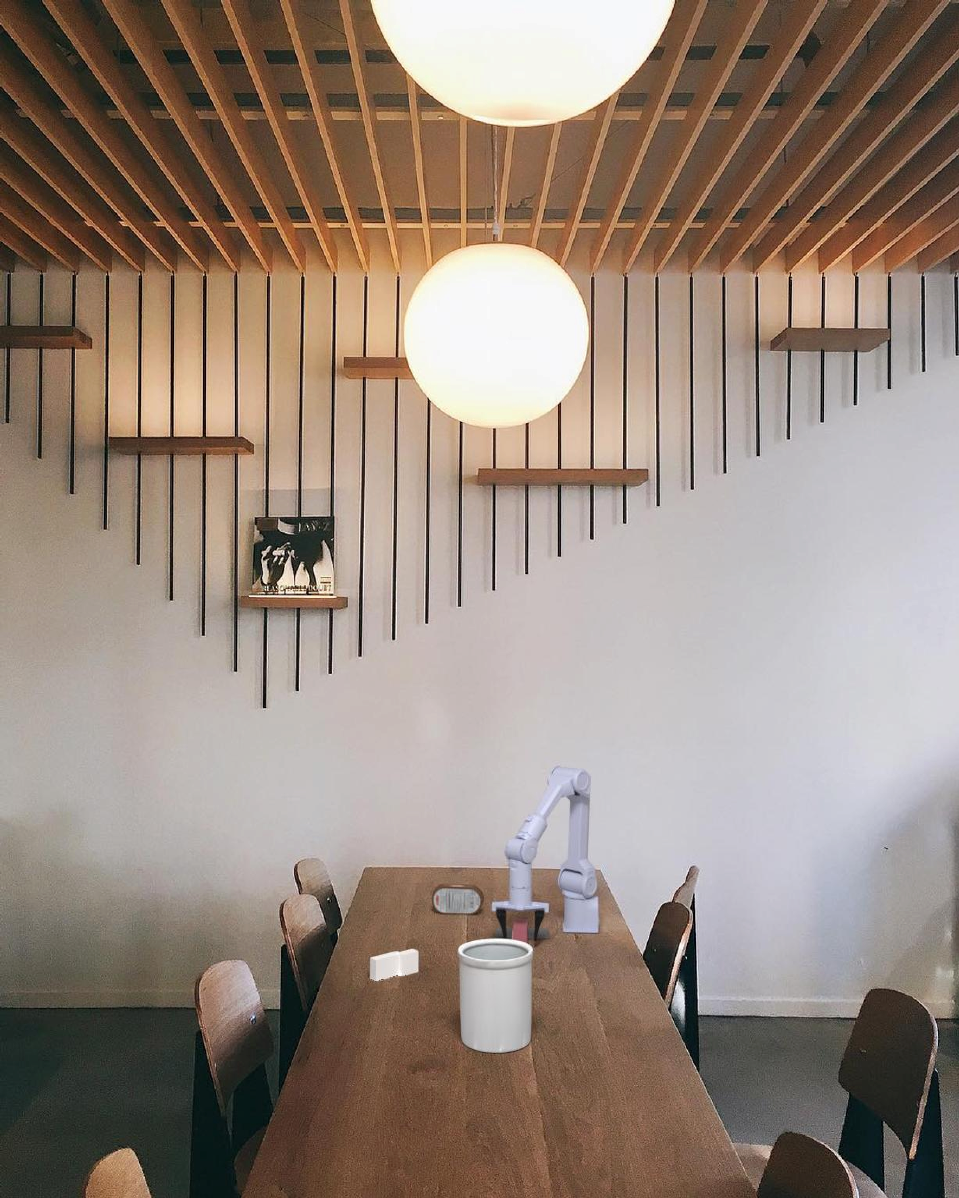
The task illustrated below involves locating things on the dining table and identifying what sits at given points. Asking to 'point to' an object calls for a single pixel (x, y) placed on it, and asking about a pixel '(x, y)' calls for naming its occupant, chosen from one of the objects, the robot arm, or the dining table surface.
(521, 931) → the box
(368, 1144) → the dining table surface
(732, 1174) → the dining table surface
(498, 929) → the mat
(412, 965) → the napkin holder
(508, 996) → the utensil holder
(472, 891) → the tin
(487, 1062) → the dining table surface
